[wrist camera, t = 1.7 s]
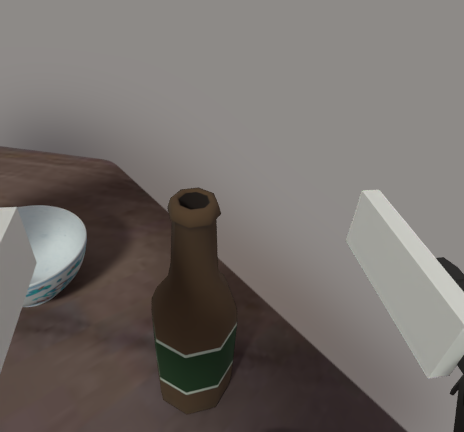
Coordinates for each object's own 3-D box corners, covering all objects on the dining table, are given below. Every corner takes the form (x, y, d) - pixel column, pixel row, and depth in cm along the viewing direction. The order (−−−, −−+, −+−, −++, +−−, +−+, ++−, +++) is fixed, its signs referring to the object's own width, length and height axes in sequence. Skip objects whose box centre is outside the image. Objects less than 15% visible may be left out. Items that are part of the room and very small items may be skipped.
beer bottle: (183, 434, 37) (176, 253, 22) (143, 373, 41) (115, 189, 26) (244, 387, 41) (273, 207, 26) (202, 336, 45) (206, 159, 31)
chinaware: (-25, 358, 41) (-53, 313, 37) (-36, 270, 51) (-59, 226, 46) (111, 304, 48) (102, 260, 43) (79, 235, 58) (68, 193, 53)
